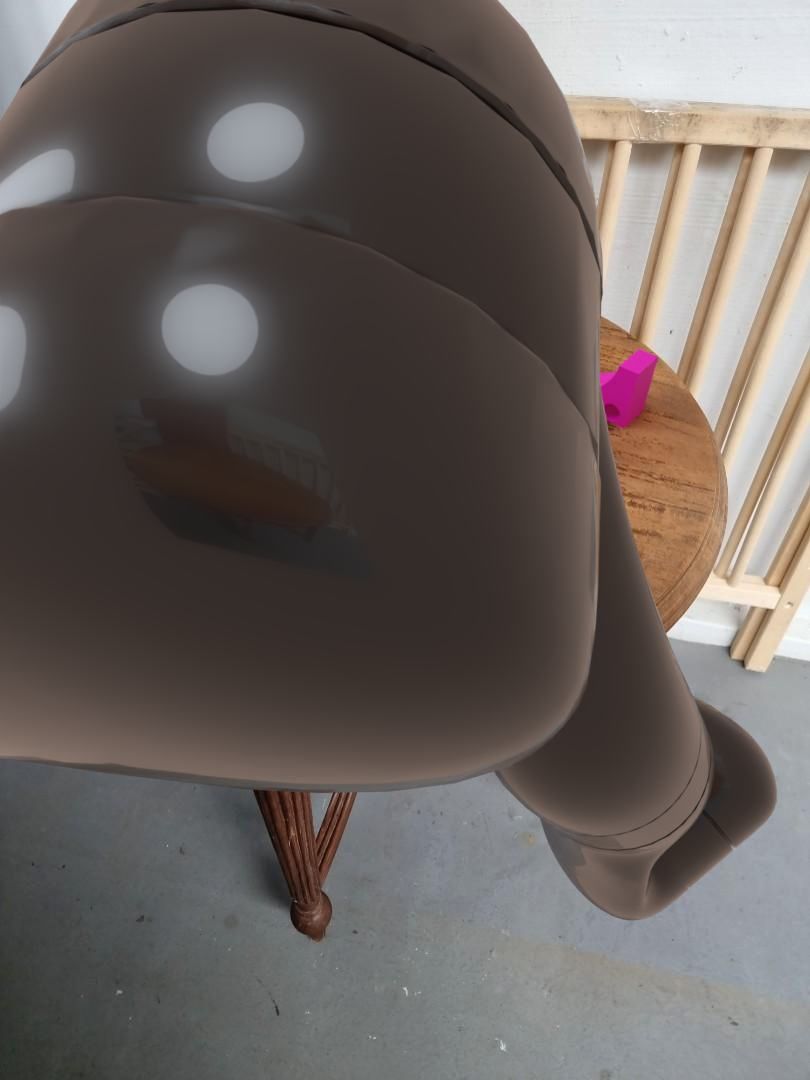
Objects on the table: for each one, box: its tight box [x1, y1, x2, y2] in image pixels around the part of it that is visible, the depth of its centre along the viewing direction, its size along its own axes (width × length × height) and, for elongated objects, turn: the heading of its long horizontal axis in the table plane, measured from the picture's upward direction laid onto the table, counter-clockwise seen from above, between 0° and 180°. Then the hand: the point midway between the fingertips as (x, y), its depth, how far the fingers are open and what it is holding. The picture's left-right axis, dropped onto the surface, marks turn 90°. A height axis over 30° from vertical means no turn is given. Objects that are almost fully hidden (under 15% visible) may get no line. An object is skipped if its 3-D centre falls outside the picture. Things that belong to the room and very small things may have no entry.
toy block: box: [600, 348, 659, 429], centre depth 78 cm, size 15×6×8 cm, turn 49°
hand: (317, 421), depth 55 cm, fingers closed on yellow block, 5 cm apart
